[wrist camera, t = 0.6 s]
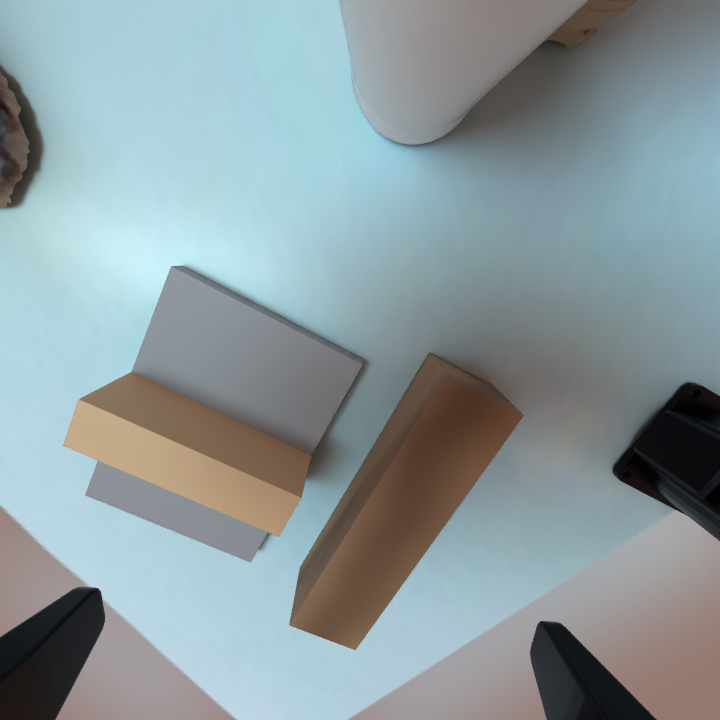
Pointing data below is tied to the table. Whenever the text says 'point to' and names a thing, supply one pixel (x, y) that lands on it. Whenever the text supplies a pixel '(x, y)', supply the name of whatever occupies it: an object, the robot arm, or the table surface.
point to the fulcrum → (213, 417)
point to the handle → (588, 20)
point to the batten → (400, 499)
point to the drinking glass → (438, 56)
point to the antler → (10, 143)
